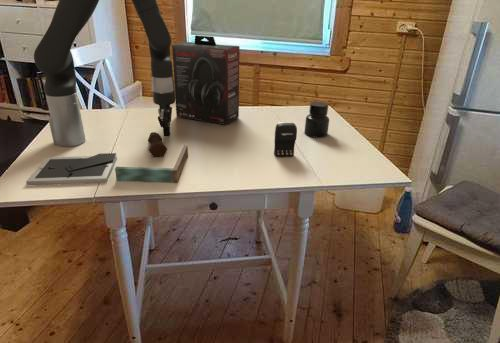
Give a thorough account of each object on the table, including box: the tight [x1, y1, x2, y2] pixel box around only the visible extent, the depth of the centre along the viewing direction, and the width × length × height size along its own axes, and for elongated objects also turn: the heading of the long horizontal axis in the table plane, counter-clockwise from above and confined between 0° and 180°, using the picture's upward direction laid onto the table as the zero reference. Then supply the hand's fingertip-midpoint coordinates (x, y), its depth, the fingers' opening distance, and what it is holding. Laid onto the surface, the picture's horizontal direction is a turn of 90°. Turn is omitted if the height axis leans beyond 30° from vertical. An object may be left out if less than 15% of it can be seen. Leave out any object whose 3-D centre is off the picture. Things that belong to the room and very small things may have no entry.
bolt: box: [147, 131, 168, 159], centre depth 123 cm, size 6×5×15 cm
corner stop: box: [114, 144, 189, 184], centre depth 110 cm, size 17×18×4 cm
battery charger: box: [273, 121, 298, 158], centre depth 119 cm, size 7×4×11 cm, turn 95°
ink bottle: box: [304, 101, 330, 138], centre depth 139 cm, size 10×9×12 cm
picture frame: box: [25, 152, 118, 186], centre depth 107 cm, size 16×3×21 cm
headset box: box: [171, 34, 240, 126], centre depth 148 cm, size 24×13×33 cm, turn 67°
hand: (166, 136), depth 133 cm, fingers closed
